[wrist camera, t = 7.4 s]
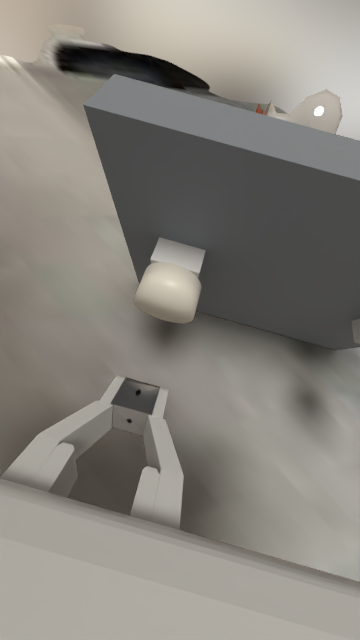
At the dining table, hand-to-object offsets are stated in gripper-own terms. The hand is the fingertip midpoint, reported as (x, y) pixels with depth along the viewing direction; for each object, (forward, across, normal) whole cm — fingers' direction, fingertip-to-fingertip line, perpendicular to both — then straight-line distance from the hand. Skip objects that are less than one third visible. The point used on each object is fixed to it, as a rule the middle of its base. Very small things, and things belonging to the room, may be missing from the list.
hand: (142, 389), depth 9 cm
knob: (+7, 0, -3) cm, 8 cm away
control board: (+15, -9, -1) cm, 17 cm away
